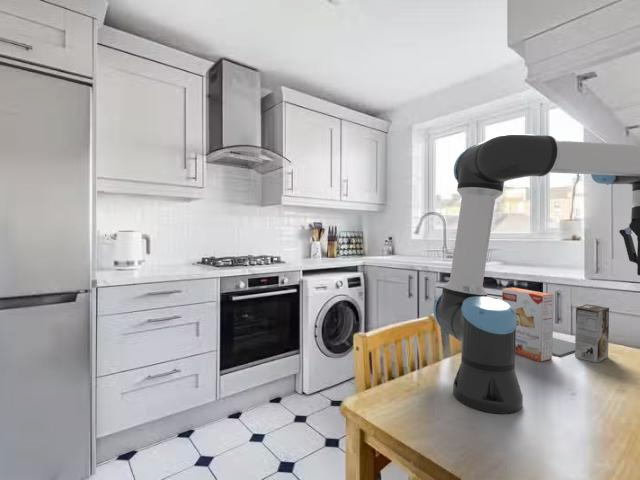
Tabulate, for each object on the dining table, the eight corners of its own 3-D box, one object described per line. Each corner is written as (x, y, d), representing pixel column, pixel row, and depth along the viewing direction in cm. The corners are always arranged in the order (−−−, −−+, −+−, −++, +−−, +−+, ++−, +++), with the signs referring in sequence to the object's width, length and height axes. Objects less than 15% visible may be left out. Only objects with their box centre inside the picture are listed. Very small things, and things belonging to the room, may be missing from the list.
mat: (559, 356, 113) (559, 355, 113) (516, 344, 126) (516, 342, 126) (586, 347, 122) (586, 346, 122) (544, 337, 135) (544, 335, 135)
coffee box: (585, 351, 119) (586, 303, 118) (608, 357, 114) (610, 307, 113) (573, 356, 114) (575, 307, 113) (598, 363, 108) (599, 310, 108)
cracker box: (500, 348, 121) (501, 287, 120) (511, 346, 124) (513, 286, 123) (540, 362, 108) (542, 295, 108) (552, 359, 111) (554, 293, 110)
